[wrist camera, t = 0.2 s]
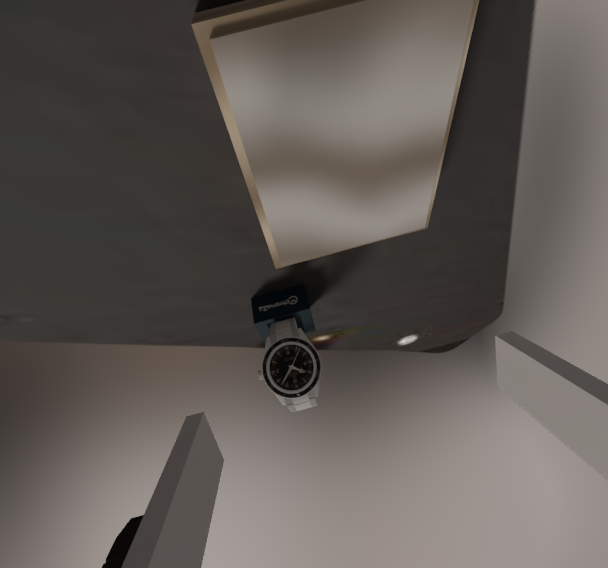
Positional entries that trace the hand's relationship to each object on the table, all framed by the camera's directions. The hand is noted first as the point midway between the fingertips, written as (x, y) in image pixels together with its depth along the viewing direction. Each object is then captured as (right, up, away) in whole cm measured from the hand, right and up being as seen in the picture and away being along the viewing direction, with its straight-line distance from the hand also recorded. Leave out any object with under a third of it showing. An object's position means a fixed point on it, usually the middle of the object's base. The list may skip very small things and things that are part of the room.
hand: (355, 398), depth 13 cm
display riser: (-1, +15, +6) cm, 16 cm away
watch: (-5, +3, +18) cm, 19 cm away
